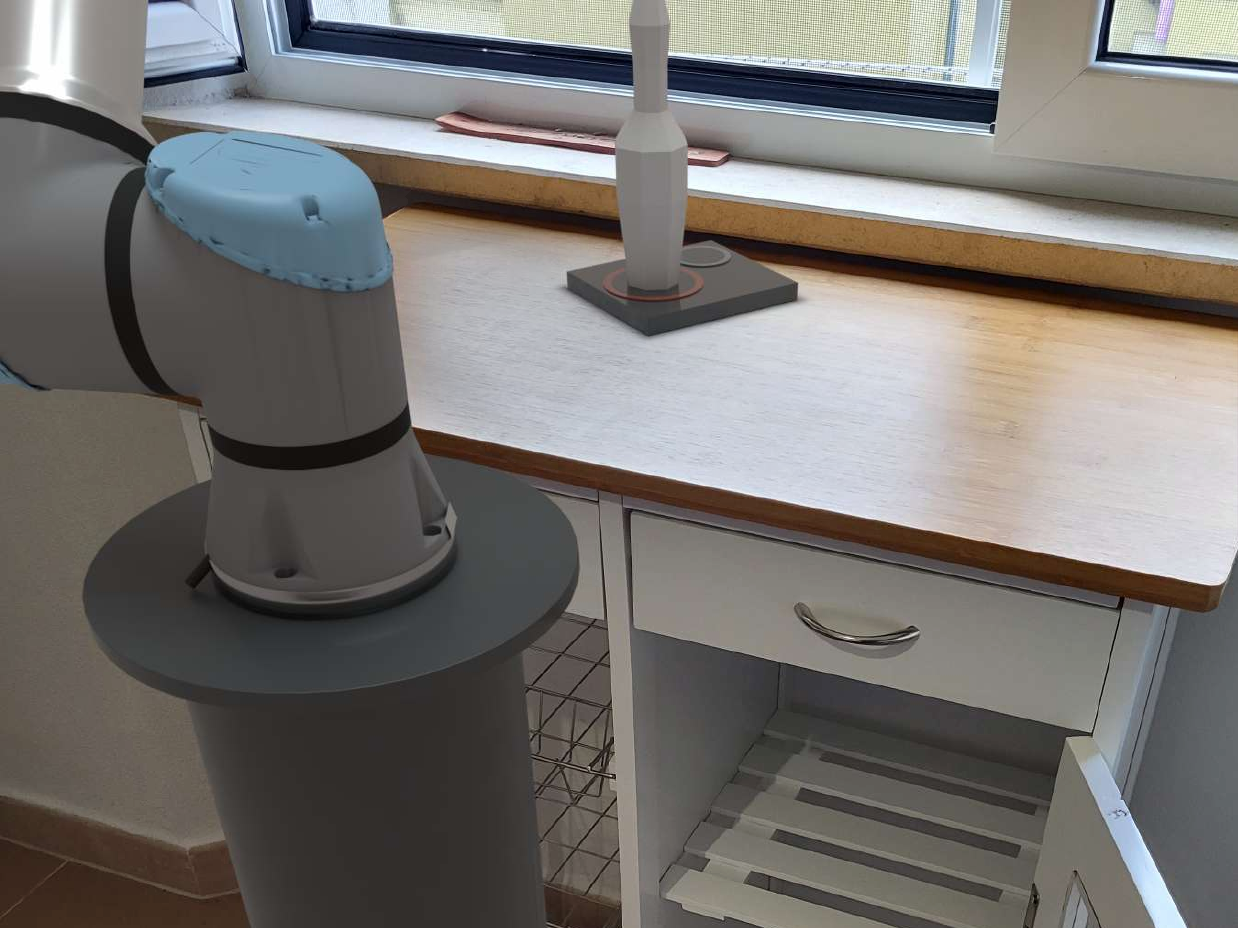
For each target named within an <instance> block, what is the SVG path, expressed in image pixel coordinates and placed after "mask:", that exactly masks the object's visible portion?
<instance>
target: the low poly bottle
mask: <svg viewBox="0 0 1238 928" xmlns="http://www.w3.org/2000/svg"><path fill="white" fill-rule="evenodd" d="M628 27H629V28H628V29H629V38H630V39H629V40H630V48H631V57H632V58H631V59H632V85H633V108H632V110H631V112H630V113H629V115H628V117H627V118H626V120H625V122H624V123H623V125H622V126H621V129H620V130H619V132H618V133H617V135H616V137H615V139H614V154H615V158H614V159H615V160H614V161H615V189H616V191H615V193H616V200H617V201H616V202H617V206H618V214H619V222H620V230H621V237H622V245H623V252H624V253H623V254H624V257H625V258H624V259H625V260H626V267H627V275H628V282H629V286H631V287H635V288H639V289H644V290H667V289H669V288H671V287H673V286H674V285H676V284H678V281H679V272H680V263H681V254H682V246H684V245H683V244H684V236H685V235H684V234H685V226H686V217H687V209H688V208H687V207H688V200H689V199H688V198H689V197H688V195H689V194H688V193H689V190H688V188H689V187H688V186H689V182H688V179H689V174H688V173H689V171H688V170H689V167H688V165H689V163H688V162H689V158H688V157H689V155H688V153H689V145H688V141H687V139H686V135H685V134H684V133H683V131H682V129H681V128H680V126H679V124H678V123H677V120H676V119H675V118H674V116H673V114H672V113H671V111H670V110H669V108H668V62H669V61H668V59H669V49H670V47H669V46H670V32H671V20H670V16H669V12H668V8H667V3H666V0H632V3H631V8H630V13H629V17H628Z"/></svg>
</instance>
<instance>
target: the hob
mask: <svg viewBox="0 0 1238 928" xmlns="http://www.w3.org/2000/svg"><path fill="white" fill-rule="evenodd" d="M566 288H567V289H568V290H570V291H571V292H574V293H575V294H576V295H578V296H580V297H582V298H583V299H585V300H587V301H588V302H590V303H592V304H593V305H596V306H597V307H599V308H600V309H602V310H604V311H606V312H608V313H609V314H610V315H612V316H614V317H615V318H617V319H619V320H621V321H623V322H624V323H626V324H627V325H629V326H631V327H633V328H634V329H636V330H638V331H640V332H641V333H643V334H645V335H646V336H648V337H649V336H653V335H656V334H662V333H666V332H669V331H673V330H679V329H682V328H685V327H689V326H695V325H698V324H702V323H703V324H704V323H707V322H711V321H715V320H719V319H723V318H728V317H731V316H736V315H740V314H744V313H747V312H751V311H756V310H759V309H764V308H768V307H772V306H776V305H780V304H784V303H788V302H789V303H790V302H792V301H797V300H798V299H799V298H798V296H799V282H798V281H796V280H794V279H792V278H789V276H785V275H783V274H781V273H779V272H778V271H775V270H773V269H772V268H769V267H767V266H765V265H763V264H761V263H759V262H757V261H755V260H752V259H751V258H749V257H747V256H744V255H743V254H740V253H738V252H736V251H735V250H732V249H730V248H728V247H726V246H724V245H722V244H720V243H718V242H715V241H714V240H712V239H710V240H705V241H701V242H697V243H691V244H687V245H682V254H681V263H680V272H679V281H678V284H676V285H674V286H673V287H671V288H669V289H667V290H644V289H639V288H635V287H631V286H629V282H628V275H627V267H626V260H625V258H623V259H618V260H613V261H608V262H603V263H598V264H595V265H590V266H586V267H581V268H576V269H572V270H571V269H570V270H567V271H566Z"/></svg>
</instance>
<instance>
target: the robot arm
mask: <svg viewBox="0 0 1238 928" xmlns="http://www.w3.org/2000/svg"><path fill="white" fill-rule="evenodd" d="M148 13H149V0H0V385H6V386H7V385H8V386H16V387H23V388H25V389H26V390H29V391H32V392H39V393H40V392H50V391H52V390H69V391H85V392H87V391H88V392H101V393H102V392H104V393H105V392H106V393H122V394H141V395H156V396H157V395H158V396H159V395H160V396H174V397H189V398H195V399H198V400H200V402H201V406H202V410H203V414H204V418H205V420H206V426H207V429H208V434H209V439H210V443H211V447H212V453H213V454H212V455H213V459H212V468H211V478H210V479H211V487H210V497H209V507H208V517H207V527H206V538H205V552H206V556H205V557H204V559H203V560H202V561H201V562H200V564H199V565H198V566H197V567H196V568H195V569H194V571H193V572H192V573H191V574H190V575H189V576H188V577H187V578H186V580H185V583H186V584H187V585H188V586H190V587H191V588H193V589H195V587H196V586H197V585H198V584H199V583H200V582H201V581H202V580H203V578H204V577H205V576H206V575H207V574H208V573H209V571H210V572H211V576H212V580H213V582H214V584H215V586H216V587H217V589H218V590H219V591H220V592H221V593H222V594H223V595H224V596H225V597H226V598H227V599H229V600H230V601H232V602H233V603H235V604H237V605H239V606H241V607H243V608H245V609H248V610H251V611H253V612H257V613H260V614H264V615H268V616H273V617H279V618H287V619H297V620H329V619H340V618H348V617H355V616H360V615H365V614H370V613H374V612H378V611H382V610H385V609H388V608H391V607H394V606H397V605H400V604H402V603H405V602H407V601H409V600H411V599H413V598H415V597H417V596H419V595H421V594H423V593H424V592H426V591H428V590H429V589H431V588H432V587H434V586H435V585H436V584H437V583H439V582H440V581H441V580H442V579H443V578H444V577H445V576H446V575H447V574H448V572H449V571H450V570H451V568H452V567H453V565H454V563H455V560H456V557H457V552H458V550H457V539H456V531H455V524H456V519H457V517H456V515H455V512H454V510H453V508H452V506H451V504H450V501H449V506H448V504H447V502H446V500H445V498H444V496H443V494H442V491H441V489H440V487H439V485H438V483H437V481H436V479H435V477H434V475H433V473H432V471H431V469H430V467H429V464H428V462H427V460H426V458H425V456H424V455H425V454H424V452H423V450H422V448H421V446H420V444H419V442H418V439H417V438H416V435H415V433H414V430H413V424H412V418H411V411H410V402H409V393H408V386H407V379H406V371H405V363H404V362H405V361H404V355H403V354H404V353H403V348H402V347H403V346H402V338H401V331H400V323H399V318H398V308H397V307H398V306H397V302H396V301H397V300H396V293H395V285H394V278H393V275H394V274H393V273H394V255H393V254H392V249H391V247H390V245H389V242H388V241H387V236H386V230H385V225H384V220H383V214H382V208H381V204H380V200H379V199H380V198H379V196H378V192H377V190H376V188H375V186H374V184H373V182H372V181H371V179H370V177H369V176H368V175H367V174H366V172H365V171H364V170H363V169H362V168H361V167H359V166H358V165H356V164H355V163H354V162H352V161H351V160H350V159H349V158H348V157H347V156H345V155H343V154H341V153H339V152H337V151H336V150H334V149H331V148H329V147H326V146H323V145H321V144H319V143H318V144H317V143H316V142H315V143H314V142H312V141H309V140H304V139H300V138H297V137H292V136H286V135H282V134H276V133H268V132H258V131H249V130H229V131H228V132H227V133H219V132H218V133H217V132H213V131H199V132H191V133H186V134H181V135H178V136H174V137H170V138H169V139H166V140H164V141H161V142H160V143H158V142H157V141H156V140H155V138H154V137H153V135H151V133H150V132H149V131H148V130H147V128H146V127H145V125H143V123H142V121H143V103H144V88H145V87H144V86H145V69H146V49H147V48H146V47H147V31H148Z"/></svg>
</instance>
